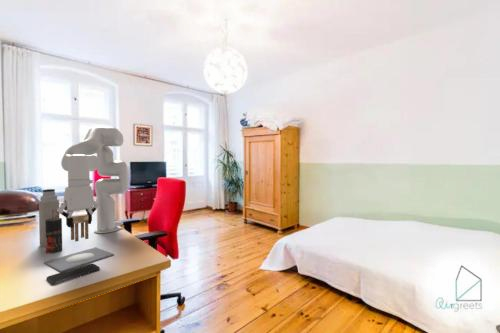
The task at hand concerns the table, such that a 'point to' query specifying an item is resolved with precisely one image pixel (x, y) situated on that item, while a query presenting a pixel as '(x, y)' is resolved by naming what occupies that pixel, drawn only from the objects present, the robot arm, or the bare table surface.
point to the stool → (81, 219)
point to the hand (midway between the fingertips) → (79, 224)
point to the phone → (72, 274)
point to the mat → (78, 259)
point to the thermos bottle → (47, 212)
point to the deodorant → (53, 235)
